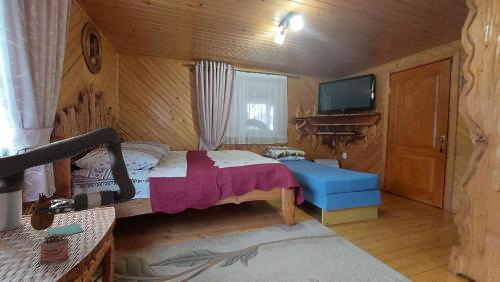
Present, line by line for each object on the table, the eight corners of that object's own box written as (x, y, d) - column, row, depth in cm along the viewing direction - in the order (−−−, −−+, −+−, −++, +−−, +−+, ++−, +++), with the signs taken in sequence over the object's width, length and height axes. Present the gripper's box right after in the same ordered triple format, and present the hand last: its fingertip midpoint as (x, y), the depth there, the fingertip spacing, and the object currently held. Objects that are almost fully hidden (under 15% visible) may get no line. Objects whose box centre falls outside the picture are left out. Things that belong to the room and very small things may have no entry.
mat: (47, 230, 102) (47, 229, 102) (76, 223, 110) (76, 222, 110) (52, 239, 94) (52, 238, 94) (83, 231, 103) (83, 230, 103)
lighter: (38, 266, 77) (38, 238, 77) (42, 260, 80) (42, 233, 80) (66, 261, 81) (67, 235, 80) (69, 256, 84) (70, 230, 83)
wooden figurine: (38, 233, 84) (39, 194, 83) (26, 231, 85) (27, 192, 84) (57, 226, 91) (58, 190, 90) (46, 223, 92) (46, 188, 91)
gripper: (82, 189, 103) (30, 196, 90) (92, 196, 94) (36, 205, 81) (81, 205, 103) (30, 214, 90) (91, 214, 94) (36, 226, 81)
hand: (33, 210), depth 85 cm, fingers closed on wooden figurine, 4 cm apart
